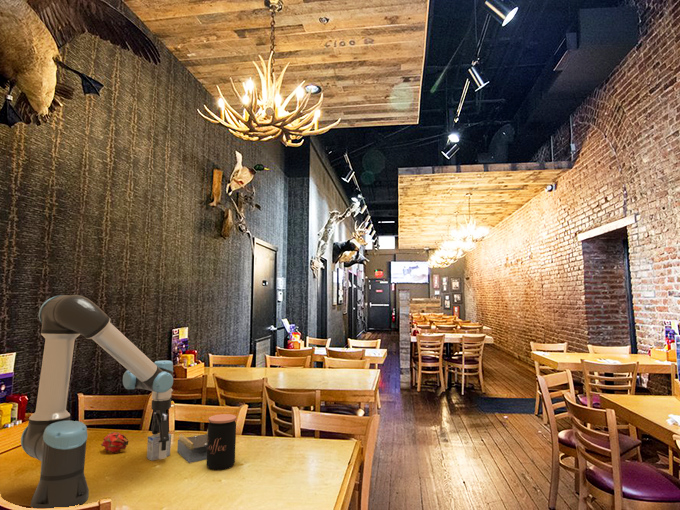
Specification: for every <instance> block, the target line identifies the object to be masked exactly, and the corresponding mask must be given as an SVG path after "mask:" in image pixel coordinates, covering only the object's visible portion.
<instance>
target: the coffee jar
mask: <svg viewBox="0 0 680 510" xmlns="http://www.w3.org/2000/svg"><path fill="white" fill-rule="evenodd" d="M207 420H208V422H209V423H208V425H207V430H208V440H207V459H206V466H207V468H208V469H209V470H212V471H224V470H228V469H230V468H232V467H233V465H234V464H235V461H236V440H237V439H236V437H237V422H236V421H237V416H236V415H235V414H232V413H231V414H229V413H221V414H220V413H219V414H215V415H212V416H209V417H208V419H207Z"/></svg>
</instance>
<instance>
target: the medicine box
mask: <svg viewBox="0 0 680 510" xmlns="http://www.w3.org/2000/svg"><path fill="white" fill-rule="evenodd" d="M159 440H160V433H158V434H156V435H153V434H151V435H149V436H147V447H146V448H147V449H146V459H147V460H149V461H151V462H152V461H156V460H160V459H159ZM171 445H172V434H171V433H169V441H167V453H166V457H170V456H171Z"/></svg>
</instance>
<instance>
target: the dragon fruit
mask: <svg viewBox="0 0 680 510" xmlns="http://www.w3.org/2000/svg"><path fill="white" fill-rule="evenodd" d="M129 442H130V441H129V439H128V438H127V437H126V435H124V434H122V433H120V432H118V431H116V432H115V431H112V432H111V433H108V434H107V435H106V436H104V437H103V441H102V443H101V447H104V451H105V453H108V452H111V453H114V454H119V453H121V451H122V450H125V449H126V448H127V446H128V445H129Z"/></svg>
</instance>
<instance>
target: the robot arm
mask: <svg viewBox="0 0 680 510" xmlns="http://www.w3.org/2000/svg"><path fill="white" fill-rule="evenodd" d="M38 319H39V322H40V323H41V331H40V335H41V336H42V337H43V338H44V341H45V342H44V347H43V348H44V349H43V356H42V360H41V361H42V362H41V369H40V377H39V383H38V384H39V385H38V390H37V391H38V392H37V398H36V406H35V412H34V413H32V414H31V415H30V416H29V418H28V422H27V423H28V424H27V426H26V427H25V429H23V432H22V434H21V437H20V445H21V448H22V450H23V451H24V453H26V454H27V455H28V456H29V457H31V458H33V459H36V460H38V461H40V463H41V464H40V476H39V481H38V484H37V487H36V488H35V491H34V493H33V495H32V498H31V500H30V507H33V508H54V507H69V506H75V505H78V504H81V505H83V504H84V503H86V502H87V500H88V499H89V492H90V489H89V486H88V482H87V478H86V475H85V463H86V451H87V441H88V440H87V439H88V428H87V427H88V426H87V424H85V423H84V422H82V421H79V420H75V421H74V420H71V413H70V412H68V411H69V410H67V404H68V396H69V388H70V380H71V379H70V378H71V371H72V365H73V364H72V363H73V356H74V348H75V340H76V339H77V338H78V337H79V336H83V337H84V338H85V339H87V340H92V341H93V342H94V343H96V345H97V344H98V346H99V347H100V348H102V349H103V350H104V351H105V352H106V353H107V354H108V355H110V356H111V357H112V358H113V359H114V360H116V362H118V363H119V364H120V365H122V366H123V368H125V369H126V371H125V372H124V373H123V375H122V385H123V387H124V389H125V390H136V389H140V390H146V391H150V392H151V399H152V400H151V406H150V407H151V410H152V411H153V415H152V423H151V427H150V428H151V429H150V431H151V435H156V434H160V440H159V459H158V460H163V459H166V458H167V456H166V453H167V441H169V434H170V432H169V428H170V427H169V414H168V413H167V410H169V409H171V407H172V399H171V398H172V393H173V392H174V389H173V384H174V377H173V375H174V363H173V361H172V360H155V361H154V362H153V361H152V360H151V359H150V358H149V357H148V356H147V355H146V354H145V353H144V352H142V350H140V349H139V347H137V346H136V345H135V344H134V343H133V342H132V341H131V340H130V339H128V338H127V337H126V336H125V335H124V334H123V332H121V331H120V330H119V329H118V328H117V327H116V326H115V325H113V323H112V322H111V317H110V316H109V315H107V314H106V313H105V311H104V310H102V309H101V308H100V307H99V305H97V304H96V303H95V302H93V301H92V300H90V299H89V298H87V296H86V297H85V296H83V295H79V294H71V295H69V294H68V295H65V294H64V295H63V294H62V295H61V294H60V295H56V296H53V297H50V298H48V299H47V300H45V301H44V302H43V303H42V305H41V306H40V307H39V310H38Z"/></svg>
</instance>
